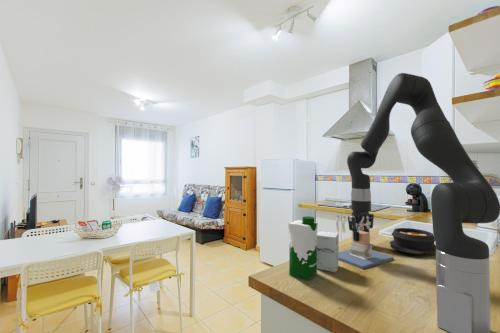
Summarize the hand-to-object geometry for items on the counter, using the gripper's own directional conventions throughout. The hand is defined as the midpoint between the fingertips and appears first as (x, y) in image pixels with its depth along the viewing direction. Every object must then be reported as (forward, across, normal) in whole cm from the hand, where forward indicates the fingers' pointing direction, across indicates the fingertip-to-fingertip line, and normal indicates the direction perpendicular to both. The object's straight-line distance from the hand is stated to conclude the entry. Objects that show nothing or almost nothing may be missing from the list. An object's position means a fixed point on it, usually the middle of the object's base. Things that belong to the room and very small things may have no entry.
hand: (361, 239), depth 100 cm
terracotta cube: (+1, 0, 0) cm, 1 cm away
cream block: (+6, 0, 0) cm, 6 cm away
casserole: (+8, +30, -5) cm, 31 cm away
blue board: (+8, 0, 0) cm, 8 cm away
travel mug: (+8, +16, +12) cm, 21 cm away
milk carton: (+8, -32, 0) cm, 33 cm away
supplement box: (+8, -20, 0) cm, 21 cm away
